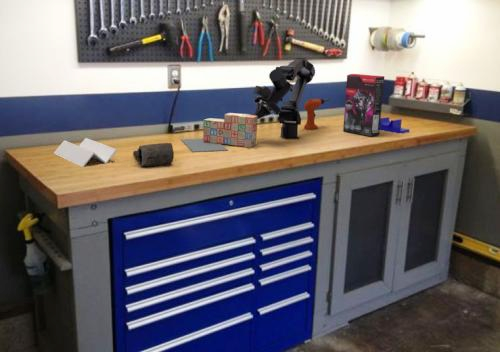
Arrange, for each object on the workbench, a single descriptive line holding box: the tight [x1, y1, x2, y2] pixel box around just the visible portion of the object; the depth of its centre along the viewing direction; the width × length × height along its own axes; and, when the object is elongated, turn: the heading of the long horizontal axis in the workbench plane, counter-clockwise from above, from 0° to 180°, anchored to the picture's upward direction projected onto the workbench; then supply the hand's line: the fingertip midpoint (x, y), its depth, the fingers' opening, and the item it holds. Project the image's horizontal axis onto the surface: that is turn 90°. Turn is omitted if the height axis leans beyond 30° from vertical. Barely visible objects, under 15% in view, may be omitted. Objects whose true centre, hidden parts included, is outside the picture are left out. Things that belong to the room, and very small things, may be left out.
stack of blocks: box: [203, 112, 258, 148], centre depth 212 cm, size 21×6×12 cm, turn 71°
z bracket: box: [53, 137, 118, 168], centre depth 185 cm, size 12×25×6 cm
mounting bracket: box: [380, 116, 410, 134], centre depth 253 cm, size 18×7×6 cm, turn 41°
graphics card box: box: [342, 73, 385, 137], centre depth 239 cm, size 17×7×27 cm, turn 41°
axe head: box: [132, 142, 175, 168], centre depth 185 cm, size 26×8×15 cm
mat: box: [180, 138, 229, 153], centre depth 210 cm, size 14×24×1 cm, turn 18°
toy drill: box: [303, 98, 330, 131], centre depth 254 cm, size 5×19×15 cm, turn 135°
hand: (252, 119), depth 213 cm, fingers closed
